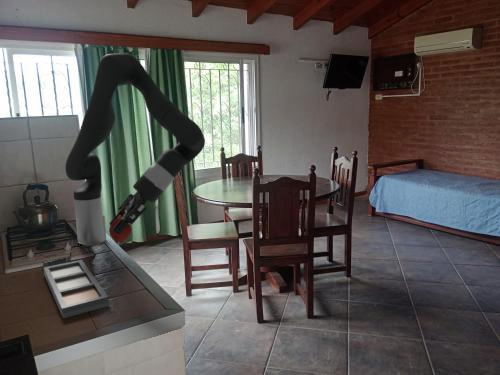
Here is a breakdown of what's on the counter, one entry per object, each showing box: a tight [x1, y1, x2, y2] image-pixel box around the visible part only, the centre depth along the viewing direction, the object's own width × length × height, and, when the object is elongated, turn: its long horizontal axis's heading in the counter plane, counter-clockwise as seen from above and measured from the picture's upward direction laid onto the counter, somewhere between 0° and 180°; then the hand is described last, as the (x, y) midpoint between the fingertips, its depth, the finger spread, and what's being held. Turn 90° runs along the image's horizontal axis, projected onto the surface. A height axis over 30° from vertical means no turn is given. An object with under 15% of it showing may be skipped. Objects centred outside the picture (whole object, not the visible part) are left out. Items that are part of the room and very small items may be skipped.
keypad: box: [43, 259, 110, 319], centre depth 114 cm, size 30×11×3 cm, turn 34°
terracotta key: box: [62, 288, 99, 305], centre depth 106 cm, size 8×8×1 cm
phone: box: [41, 257, 71, 272], centre depth 135 cm, size 8×1×15 cm
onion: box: [108, 215, 132, 244], centre depth 113 cm, size 6×6×8 cm
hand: (113, 229), depth 112 cm, fingers closed on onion, 5 cm apart
